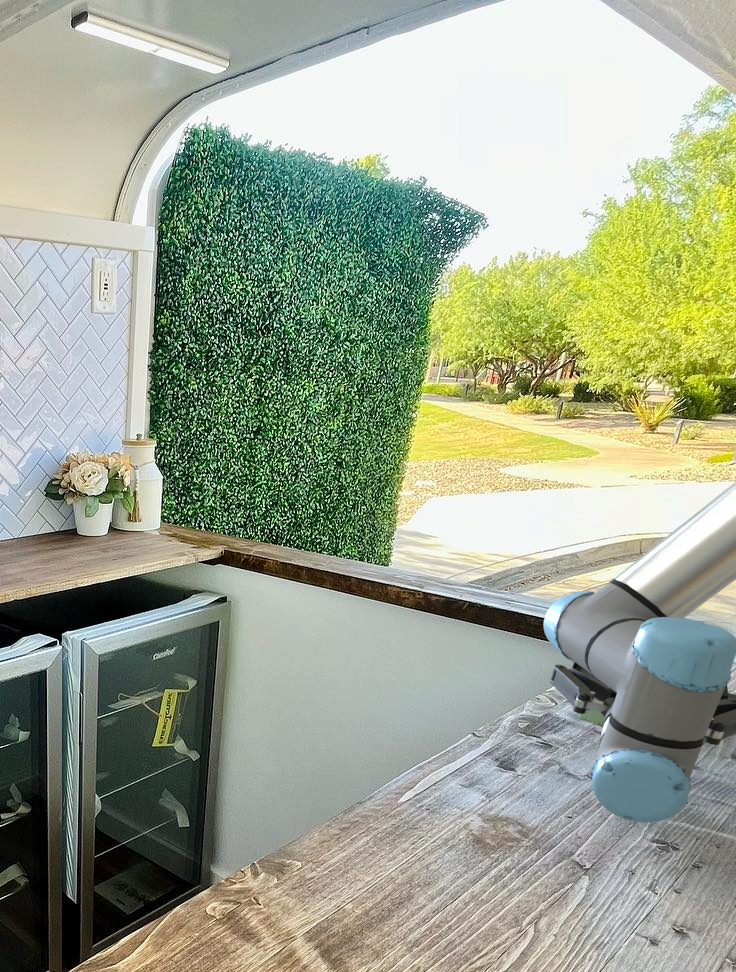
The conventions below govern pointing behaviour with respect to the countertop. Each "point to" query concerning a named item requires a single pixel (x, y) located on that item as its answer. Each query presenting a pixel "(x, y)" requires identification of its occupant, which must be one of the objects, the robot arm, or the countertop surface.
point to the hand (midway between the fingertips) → (651, 673)
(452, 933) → the countertop surface
